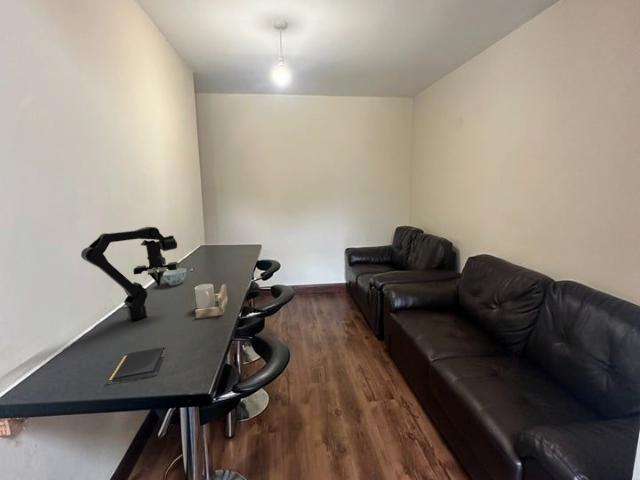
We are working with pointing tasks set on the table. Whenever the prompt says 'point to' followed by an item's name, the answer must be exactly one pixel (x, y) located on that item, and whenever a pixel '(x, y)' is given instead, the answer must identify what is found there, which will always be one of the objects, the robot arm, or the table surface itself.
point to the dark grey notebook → (138, 365)
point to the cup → (205, 296)
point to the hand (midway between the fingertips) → (159, 285)
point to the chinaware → (174, 276)
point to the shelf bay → (215, 310)
